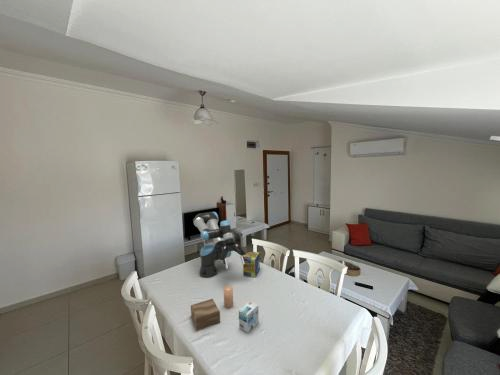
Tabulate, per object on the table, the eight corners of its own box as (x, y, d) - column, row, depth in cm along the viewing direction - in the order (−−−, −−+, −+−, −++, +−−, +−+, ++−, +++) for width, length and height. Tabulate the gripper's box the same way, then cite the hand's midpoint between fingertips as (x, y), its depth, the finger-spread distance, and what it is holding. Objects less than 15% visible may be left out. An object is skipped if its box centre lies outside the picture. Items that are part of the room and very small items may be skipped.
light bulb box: (248, 333, 119) (247, 315, 118) (238, 328, 123) (238, 310, 122) (259, 322, 128) (258, 304, 126) (250, 317, 132) (249, 300, 131)
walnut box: (191, 315, 134) (190, 304, 134) (213, 308, 141) (212, 298, 140) (196, 330, 122) (195, 319, 121) (220, 322, 128) (219, 311, 127)
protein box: (243, 276, 180) (242, 258, 178) (248, 267, 194) (248, 250, 193) (255, 277, 177) (254, 259, 175) (260, 269, 191) (259, 252, 190)
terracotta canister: (222, 304, 145) (222, 287, 143) (231, 301, 147) (230, 284, 146) (226, 309, 139) (225, 291, 138) (234, 306, 142) (234, 289, 141)
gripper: (214, 240, 165) (221, 269, 156) (244, 235, 176) (251, 261, 167) (212, 243, 171) (218, 271, 162) (241, 238, 182) (248, 263, 173)
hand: (235, 266), depth 164 cm, fingers open, 13 cm apart
